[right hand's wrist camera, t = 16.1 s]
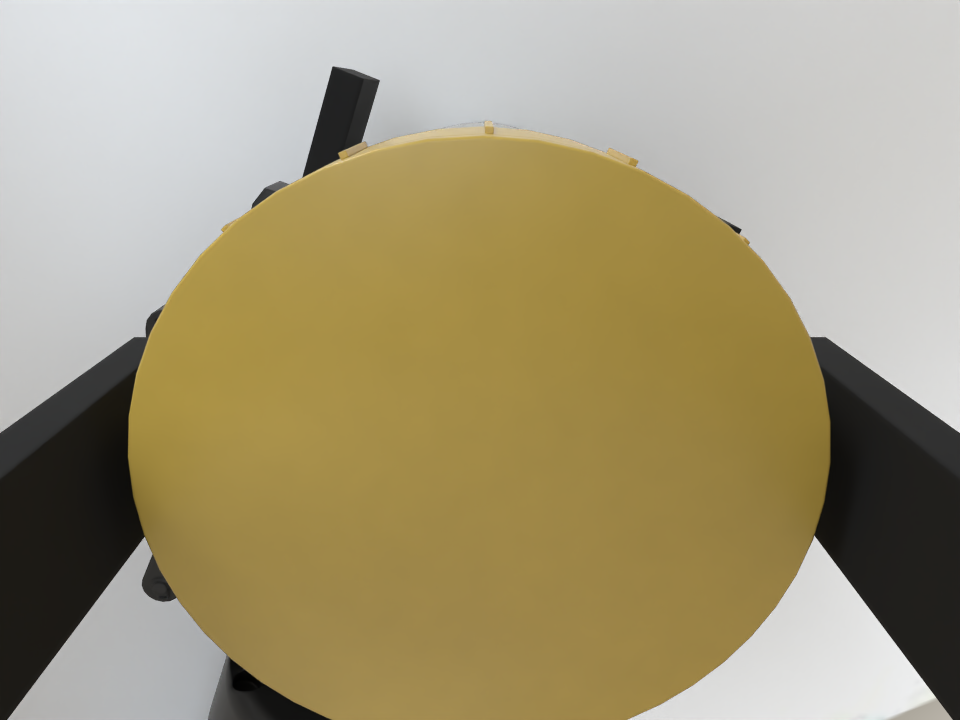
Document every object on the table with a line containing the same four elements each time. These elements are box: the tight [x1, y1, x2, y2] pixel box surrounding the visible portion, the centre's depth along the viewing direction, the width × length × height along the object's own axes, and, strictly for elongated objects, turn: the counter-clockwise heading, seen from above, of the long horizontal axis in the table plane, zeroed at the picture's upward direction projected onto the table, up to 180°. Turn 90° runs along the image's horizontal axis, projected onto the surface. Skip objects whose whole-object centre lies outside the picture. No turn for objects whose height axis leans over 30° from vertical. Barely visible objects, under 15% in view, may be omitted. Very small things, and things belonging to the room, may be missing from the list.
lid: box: [128, 121, 830, 720], centre depth 11 cm, size 10×10×2 cm
